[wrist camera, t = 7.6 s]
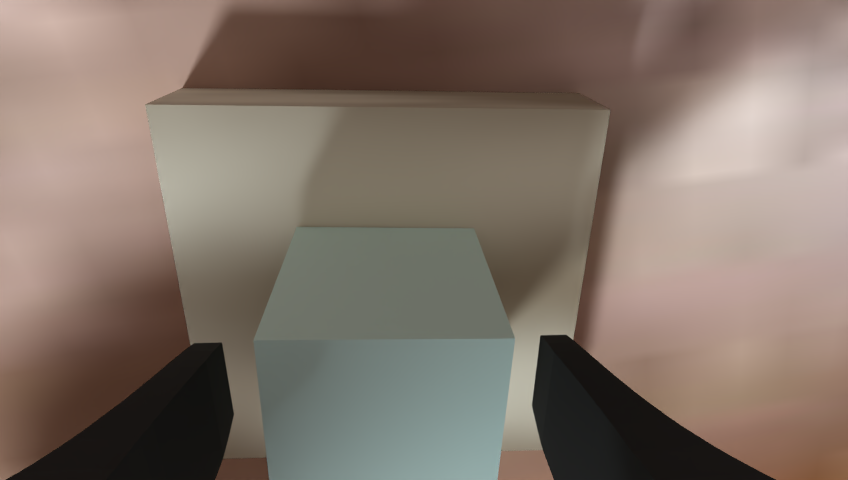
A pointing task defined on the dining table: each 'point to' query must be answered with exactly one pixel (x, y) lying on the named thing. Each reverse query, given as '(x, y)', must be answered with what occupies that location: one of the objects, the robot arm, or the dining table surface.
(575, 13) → the dining table surface
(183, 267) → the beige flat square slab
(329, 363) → the mint block
